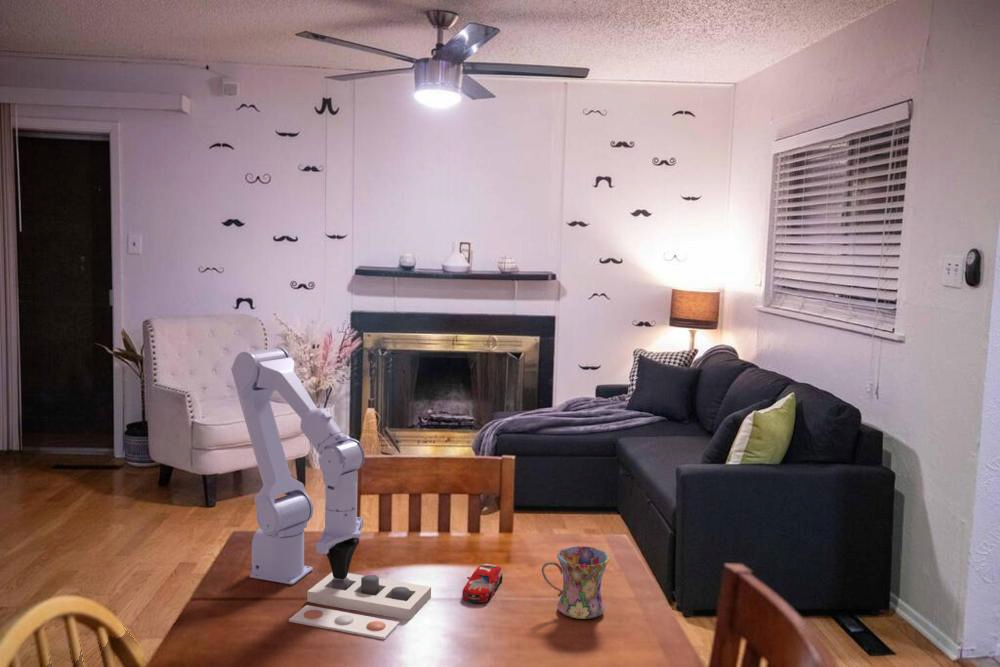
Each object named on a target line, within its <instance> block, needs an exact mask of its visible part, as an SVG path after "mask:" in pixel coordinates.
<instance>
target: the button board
mask: <svg viewBox="0 0 1000 667" xmlns="http://www.w3.org/2000/svg"><path fill="white" fill-rule="evenodd" d="M363 576H364V575H363V574H362V575H361V574H356V573H351V572H350V573H349V572H348V574H347V577H346V578H348V579H349V588H348V589H347V590H346V591H345V590H340V589H334V588H332V579H333V578H334V577H333V573H332V572H330V573H329V574H327V575H326V576H325V577H324V578H323V579H321V580H320V581H319V582H317V583H315V585H314V586H312V587H311V588H309V589H308V590H307V591H306V592H307V595H306V596H307V599H306V600H307V601H306V602H307V603H312V604H318V605H324V606H327V607H328V606H329V607H335V608H340V609H344V610H350V611H351V610H352V611H356V612H362V613H367V614H372V615H379V616H385V617H390V618H396V619H399V620H407V621H410V620H412V618H414V616H415V615H416V614H417V613H418V612H419V611H420V610H421V608H422V607H424V606H425V604H427V603H428V602H429V600H430V599H431V597H432V586H428V585H427V586H426V585H421V584H416V583H409V582H404V581H403V582H402V581H399V580H398V581H397V580H392V579H387V578H380V577H379V592H378V593H377V594H375V595H368V594H362V593H361V578H362V577H363ZM395 587H406V588H408V589H409V599H408V600H407V601H402V600H397V599H391V590H392V589H393V588H395Z"/></svg>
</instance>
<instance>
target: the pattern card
mask: <svg viewBox="0 0 1000 667" xmlns="http://www.w3.org/2000/svg"><path fill="white" fill-rule="evenodd" d="M288 622H290V623H294V624H295V623H296V624H300V625H306V626H310V627H316V628H321V629H326V630H331V631H337V632H341V633H347V634H354V635H358V636H363V637H369V638H373V639H378V640H379V639H380V640H384V641H385V640H386V639H387V638H388V637H389V636H390V635H391V634H392V633H393V632H394V631H395V630H396V628H398V626H399V625H400V621H397V620H390V619H385V618H380V617H373V616H367V615H363V614H357V613H352V612H346V611H341V610H336V609H330V608H324V607H319V606H314V605H309V604H307V605H305V606H304V607H303V608H301V609H300V610H299V611H298V612H296V613H295V614H294V615H293V616H292V617H290V618H289V619H288Z"/></svg>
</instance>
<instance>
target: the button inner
mask: <svg viewBox="0 0 1000 667" xmlns="http://www.w3.org/2000/svg"><path fill="white" fill-rule="evenodd" d="M332 588H334V589H340V590H345V591H346V590H347V589H348V588H349V579H348V578H345V579H344V580H342V579H336V578H333V579H332Z"/></svg>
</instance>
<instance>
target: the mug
mask: <svg viewBox="0 0 1000 667" xmlns="http://www.w3.org/2000/svg"><path fill="white" fill-rule="evenodd" d="M556 557H557V559H558V561H559V564H560V565H559V564H558V563H557V562H555V561H546V562H545V563H544V564H543V565H542V567H541V573H542V576H543V578H544V579H543V580H545V582H547V584H548V585H549V586H551V588H553V589H554V590H556V591H558V593H557V596H558V597H560V599H559V600H558V601H557V610H558V611H559V612H561V613H562V614H563V615H565V616H567V617H569V618H575V619H580V620H581V619H583V620H588V619H594V618H597V617H600V616H601V615H603V613H604V611H605V605H604V603H603V600H602V594H601V591H602V590H601V588H602V587H601V586H602V585H601V584H602V579H603V575H604V573H605V571H606V570H605V569H606V568H607V566H608V564H609V561H610V556H609V554H608V553H607V552H605V551H604V550H602V549H600V548H596V547H591V546H584V545H583V546H582V545H574V546H567V547H564V548H561V549H560V550H559V551H558V552H557V554H556ZM549 565H553V566H556V567H557V568H558V570H559V572H560V574H561V575H562V581H563V582H562V586H563V587H562V589H561V588H560V587H558V586H556V585H555V584H553V583H552V582H551V581H550V580H549V579H548V577H547V576H546V574H545V567H547V566H549Z"/></svg>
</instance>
